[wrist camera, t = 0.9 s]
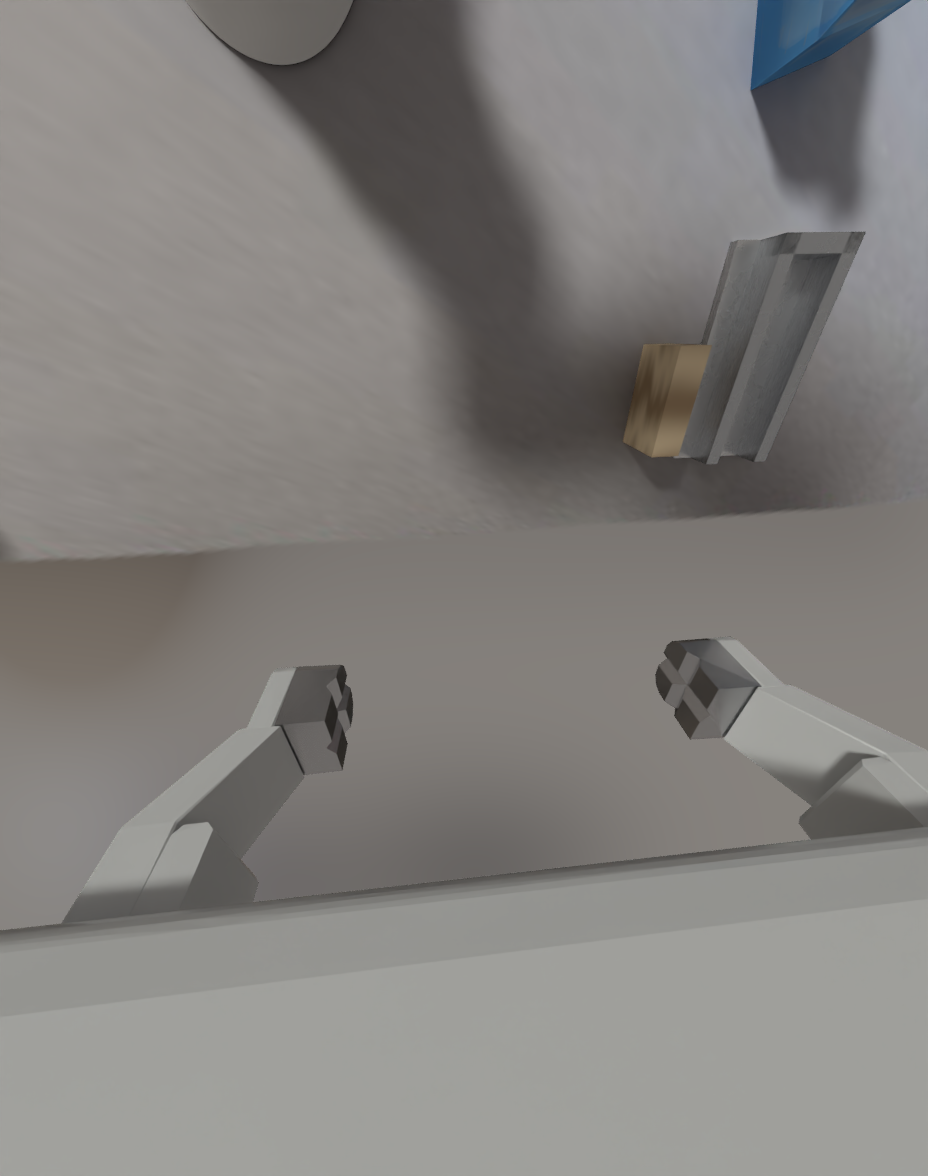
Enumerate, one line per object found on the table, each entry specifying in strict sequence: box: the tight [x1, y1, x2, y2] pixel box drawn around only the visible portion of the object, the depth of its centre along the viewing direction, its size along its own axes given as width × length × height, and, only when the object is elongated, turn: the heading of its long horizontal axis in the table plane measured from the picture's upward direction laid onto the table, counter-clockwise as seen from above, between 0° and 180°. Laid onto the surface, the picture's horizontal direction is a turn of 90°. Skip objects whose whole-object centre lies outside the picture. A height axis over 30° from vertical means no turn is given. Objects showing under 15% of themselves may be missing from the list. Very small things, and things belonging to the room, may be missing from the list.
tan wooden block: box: [623, 344, 712, 457], centre depth 40 cm, size 10×3×7 cm, turn 1°
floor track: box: [670, 232, 865, 464], centre depth 40 cm, size 20×12×4 cm, turn 1°
